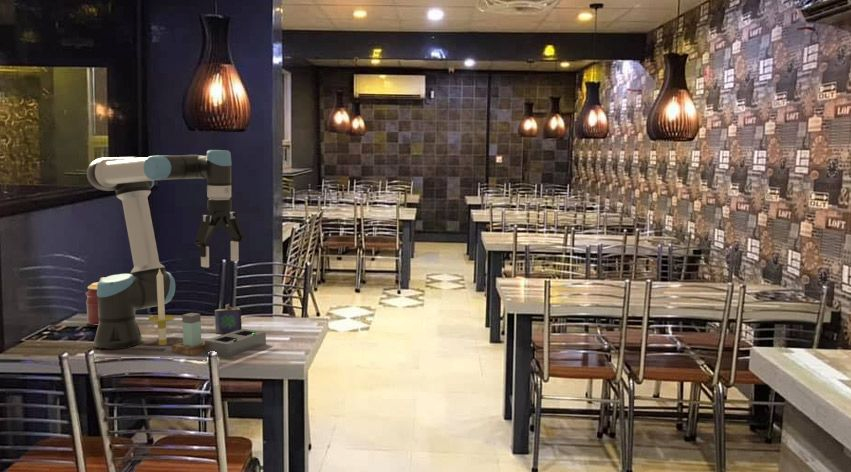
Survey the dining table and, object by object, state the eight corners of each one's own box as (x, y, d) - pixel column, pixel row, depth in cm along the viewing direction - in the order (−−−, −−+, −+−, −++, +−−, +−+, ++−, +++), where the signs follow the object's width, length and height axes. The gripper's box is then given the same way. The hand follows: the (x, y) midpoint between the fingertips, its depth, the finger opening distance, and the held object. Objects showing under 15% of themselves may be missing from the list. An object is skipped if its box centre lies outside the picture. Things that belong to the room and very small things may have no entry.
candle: (155, 342, 257) (152, 265, 254) (183, 342, 256) (180, 265, 252) (141, 349, 247) (138, 269, 244) (170, 350, 246) (167, 270, 243)
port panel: (205, 355, 240) (204, 339, 239) (243, 342, 256) (243, 327, 255) (228, 359, 235) (227, 343, 234) (266, 346, 251) (265, 330, 250)
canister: (86, 327, 278) (83, 281, 276) (88, 320, 290) (85, 275, 288) (123, 324, 282) (121, 278, 280) (123, 317, 294) (121, 273, 292)
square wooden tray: (172, 354, 241) (171, 345, 241) (193, 347, 249) (192, 339, 249) (192, 357, 237) (191, 348, 237) (212, 351, 245) (212, 342, 245)
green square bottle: (183, 351, 242) (182, 315, 241) (192, 348, 246) (191, 312, 244) (192, 352, 240) (191, 316, 239) (201, 349, 244) (200, 313, 242)
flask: (215, 335, 266) (214, 305, 265) (215, 333, 269) (214, 304, 268) (241, 333, 269) (241, 304, 267) (241, 331, 271) (240, 302, 270)
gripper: (199, 201, 224) (201, 270, 227) (254, 196, 246) (254, 259, 249) (181, 200, 228) (182, 268, 231) (237, 195, 250) (237, 257, 253)
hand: (220, 264), depth 240 cm, fingers open, 13 cm apart
